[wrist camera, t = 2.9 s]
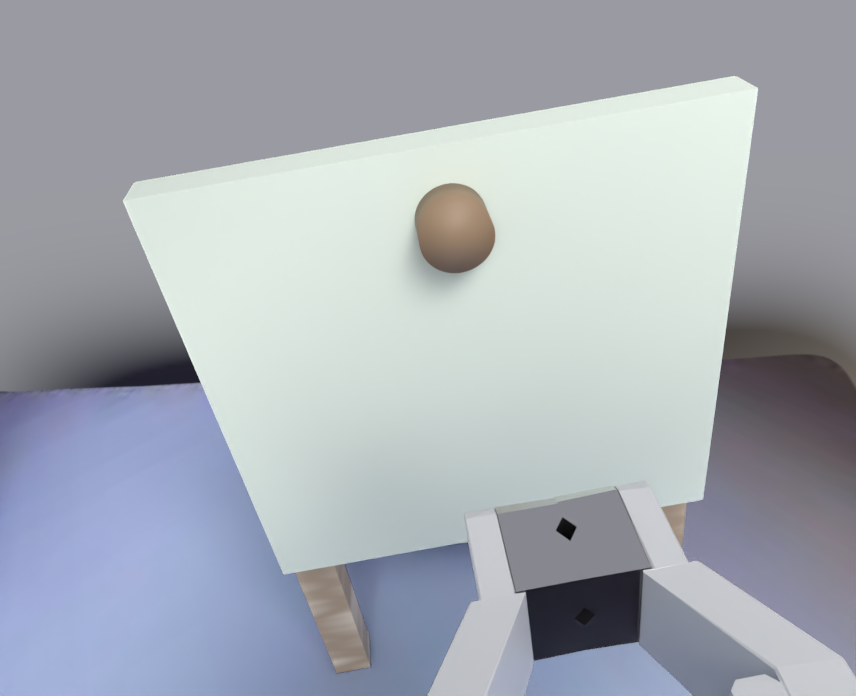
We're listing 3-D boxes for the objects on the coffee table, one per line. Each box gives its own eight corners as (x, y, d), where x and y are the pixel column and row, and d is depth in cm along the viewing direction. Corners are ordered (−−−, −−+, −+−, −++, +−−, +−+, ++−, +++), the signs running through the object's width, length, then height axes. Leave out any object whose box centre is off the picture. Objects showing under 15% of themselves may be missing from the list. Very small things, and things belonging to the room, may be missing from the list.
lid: (285, 549, 34) (281, 604, 31) (134, 182, 23) (109, 223, 20) (689, 476, 34) (717, 526, 31) (735, 75, 23) (784, 103, 20)
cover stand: (336, 681, 40) (286, 561, 34) (337, 447, 56) (302, 335, 49) (677, 620, 40) (693, 488, 34) (581, 404, 56) (579, 285, 50)
